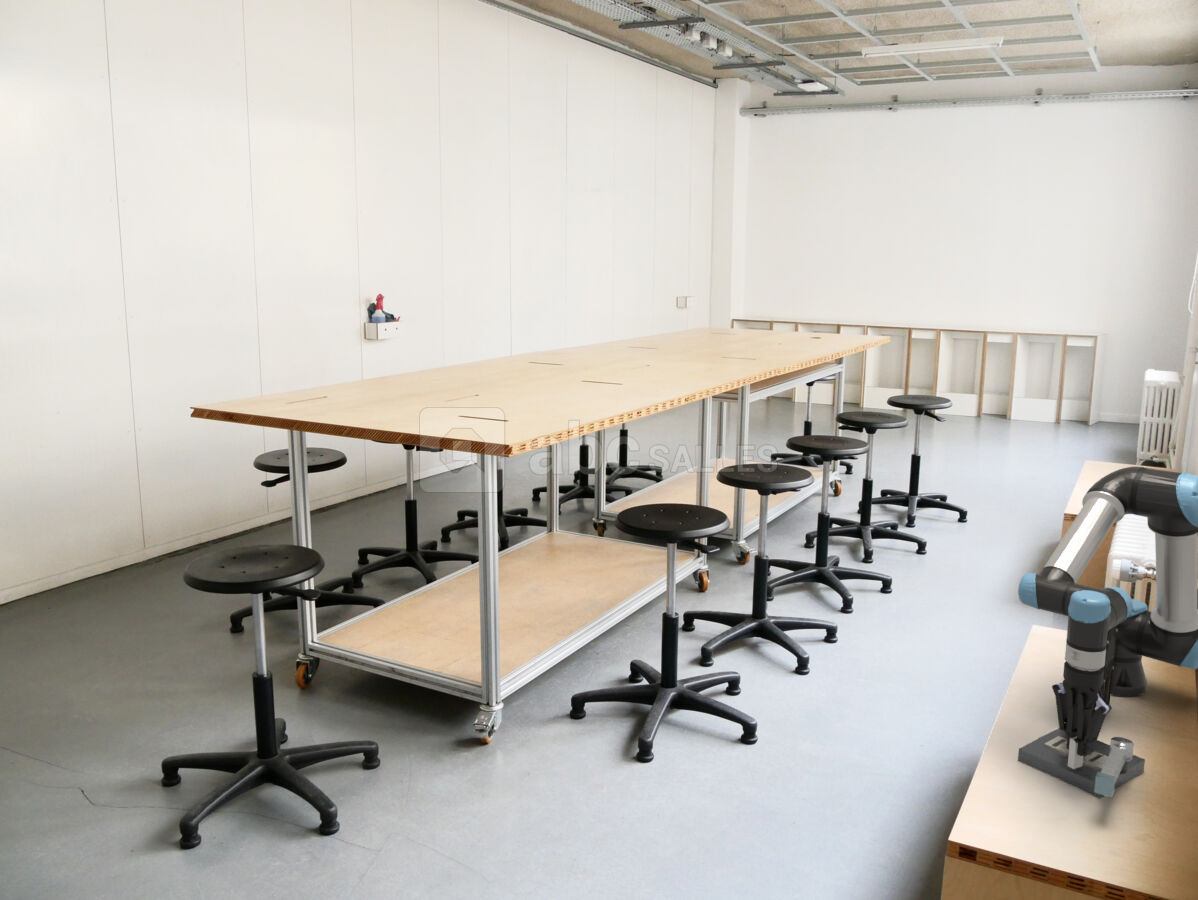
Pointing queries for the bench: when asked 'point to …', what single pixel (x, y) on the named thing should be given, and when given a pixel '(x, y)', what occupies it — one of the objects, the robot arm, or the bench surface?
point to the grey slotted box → (1053, 761)
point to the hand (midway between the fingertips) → (1074, 765)
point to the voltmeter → (1108, 667)
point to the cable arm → (1113, 765)
